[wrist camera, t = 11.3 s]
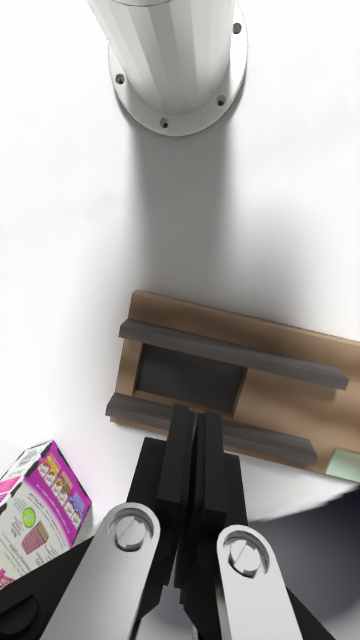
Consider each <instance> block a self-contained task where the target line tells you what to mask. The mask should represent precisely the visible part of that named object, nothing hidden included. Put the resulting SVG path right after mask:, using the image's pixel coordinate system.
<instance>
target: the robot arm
mask: <svg viewBox="0 0 360 640" xmlns="http://www.w3.org/2000/svg"><path fill="white" fill-rule="evenodd" d="M87 2H88V4H89V6H90V8H91V10H92V12H93V13H94V15H95V17H96V19H97V21H98V23H99V25H100V27H101V29H102V31H103V32H104V34H105V36H106V38H107V40H108V42H109V44H108V62H109V71H110V75H111V79H112V83H113V86H114V88H115V91H116V93H117V95H118V97H119V99H120V101H121V102H122V104H123V105H124V107H125V109H126V110H127V111H128V112H129V113H130V114H131V116H132V117H133V118H134V119H135V120H136V121H137V122H139V123H140V124H141V125H142V126H144V127H145V128H147V129H149V130H151V131H153V132H155V133H159V134H162V135H166V136H185V135H191V134H194V133H197V132H199V131H202V130H204V129H206V128H207V127H209V126H210V125H212V124H213V123H215V122H216V121H217V120H218V119H219V118H220V117H221V116H222V115H223V114H224V113H225V112H226V111H227V109H228V108H229V107H230V105H231V104H232V103H233V101H234V99H235V97H236V95H237V93H238V91H239V89H240V87H241V84H242V81H243V77H244V74H245V69H246V64H247V55H248V39H247V29H246V25H245V22H244V18H243V14H242V12H241V10H240V8H239V6H238V4H237V1H236V0H87ZM235 32H238V33H239V34H237V35H235V34H234V33H235ZM121 81H124V83H123V84H120V82H121ZM219 102H223V105H222V106H219V105H218V103H219ZM165 123H167V124H168V126H167V128H163V125H164V124H165ZM193 424H194V411H190V410H189V406H186V405H181V404H176V403H174V407H173V412H172V417H171V422H170V428H169V433H168V438H167V441H164V440H159V439H154V438H149V437H145V439H144V442H143V445H142V449H141V452H140V456H139V459H138V463H137V466H136V470H135V473H134V476H133V480H132V483H131V487H130V490H129V494H128V497H127V501H126V503H123V504H120V505H118V506H116V507H114V508H113V509H112V510H110V511H109V512H108V513H107V515H106V516H105V518H104V519H103V521H102V523H101V525H100V527H99V529H98V530H97V532H96V534H95V535H94V536H92V537H91V538H89V539H87V540H85V541H84V542H82V543H80V544H78V545H77V546H75V547H73V548H71V549H69V550H68V551H66V552H64V553H62V554H61V555H59V556H57V557H55V558H54V559H52V560H50V561H48V562H47V563H45V564H43V565H41V566H39V567H38V568H36V569H34V570H32V571H31V572H29V573H27V574H25V575H24V576H22V577H20V578H18V579H17V580H15V581H13V582H11V583H9V584H8V585H6V586H5V587H3V588H2V589H1V590H0V640H136V639H137V636H138V632H139V629H140V626H141V621H142V617H144V616H145V615H146V614H147V613H148V612H149V611H151V610H152V609H153V608H154V607H155V606H157V605H158V604H159V601H160V597H161V592H162V588H163V585H166V586H168V584H169V580H170V576H171V571H172V567H173V563H174V559H175V555H176V551H177V556H176V568H175V578H174V587H175V588H180V589H181V591H180V604H183V605H184V610H185V612H186V614H187V615H188V617H189V618H190V619H191V621H192V623H193V626H192V627H193V628H192V639H193V640H335V639H334V637H333V636H332V635H331V634H330V633H329V632H328V631H327V630H326V629H325V628H324V627H323V626H322V624H321V623H320V622H319V621H318V620H317V619H316V618H315V617H314V616H313V615H312V614H311V613H310V612H309V610H308V609H307V608H306V607H305V606H304V605H303V604H302V603H301V602H300V601H299V600H298V599H297V597H295V596H294V594H293V593H292V592H291V591H290V590H289V589H288V588H287V587H286V586H285V585H284V582H283V579H282V575H281V572H280V569H279V567H278V564H277V560H276V557H275V555H274V552H273V551H272V548H271V546H270V545H269V543H268V542H267V541H266V539H265V538H264V537H263V536H262V535H260V534H259V533H258V532H256V531H255V530H253V529H251V528H249V527H248V523H247V515H246V507H245V499H244V492H243V484H242V476H241V468H240V461H239V457H238V456H237V455H232V454H227V453H224V451H223V436H222V420H221V413H220V412H216V411H211V410H205V412H204V413H199V414H198V418H197V422H196V426H195V431H194V435H193ZM192 438H193V439H192Z"/></svg>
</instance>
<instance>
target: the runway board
mask: <svg viewBox="0 0 360 640" xmlns="http://www.w3.org/2000/svg"><path fill="white" fill-rule="evenodd" d="M119 337H121V338H124V344H123V349H122V355H121V361H120V366H119V372H118V378H117V383H116V389H115V393H114V395H113V396H112V398H111V400H110V401H109V403H108V405H107V408H106V413H105V415H106V416H110V422H114V423H118V424H122V425H127V426H131V427H135V428H139V429H143V430H147V431H151V432H155V433H159V434H163V435H167V436H168V433H169V428H170V422H171V417H172V412H173V407H174V403H176V404H181V405H186V406H189V410H190V411H194V424H193V435H194V431H195V426H196V422H197V418H198V414H199V413H204V412H205V410H211V411H216V412H220V413H221V420H222V436H223V449H224V450H228V451H232V452H236V453H240V454H244V455H248V456H252V457H256V458H260V459H264V460H268V461H272V462H276V463H281V464H285V465H289V466H293V467H297V468H301V469H305V470H309V471H313V472H317V473H321V474H325V475H329V476H333V477H337V478H341V479H345V480H349V481H354V482H358V483H360V342H358V341H354V340H349V339H345V338H341V337H336V336H332V335H328V334H324V333H319V332H315V331H311V330H306V329H302V328H298V327H293V326H289V325H285V324H281V323H276V322H272V321H268V320H263V319H259V318H255V317H251V316H246V315H242V314H238V313H233V312H229V311H225V310H220V309H216V308H212V307H208V306H203V305H199V304H195V303H190V302H186V301H182V300H178V299H173V298H169V297H165V296H160V295H156V294H152V293H147V292H143V291H139V290H136V291H135V292H133V293H132V299H131V304H130V310H129V316H128V319H127V320H126V321H125V322H124V323H123V324H122V325H121V326H120V332H119ZM192 439H193V438H192Z"/></svg>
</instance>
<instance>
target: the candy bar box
mask: <svg viewBox="0 0 360 640" xmlns="http://www.w3.org/2000/svg"><path fill="white" fill-rule="evenodd" d="M90 505H91V500H90V499H89V497H88V496H87V494H86V492H85V491H84V489H83V487H82V486H81V484H80V483H79V481H78V480H77V478H76V476H75V475H74V473H73V472H72V470H71V468H70V467H69V465H68V464H67V462H66V460H65V459H64V457H63V456H62V454H61V452H60V451H59V449H58V448H57V446H56V444H55V443H54V441H53V440H52V441H49V442H46V443H44V444H41V445H38V446H35V447H32V448H29V449H27V450H25V451H24V452H23V453H22V454H21V455H20V456H19V458H18V459H17V460H16V461H15V462H14V464H13V465H12V466H11V467H10V468H9V470H8V471H7V472H6V473H5V474H4V475H3V477H2V478H1V479H0V590H1V589H2V588H3V587H5V586H6V585H8V584H9V583H11V582H13V581H15V580H17V579H18V578H20V577H22V576H24V575H25V574H27V573H29V572H31V571H32V570H34V569H36V568H38V567H39V566H41V565H43V564H45V563H47V562H48V561H50V560H52V559H54V558H55V557H57V556H59V555H61V554H62V553H64V552H66V551H68V550H69V549H71V548H72V546H73V543H74V541H75V539H76V537H77V535H78V532H79V530H80V528H81V526H82V523H83V521H84V519H85V517H86V514H87V512H88V510H89V508H90Z"/></svg>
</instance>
